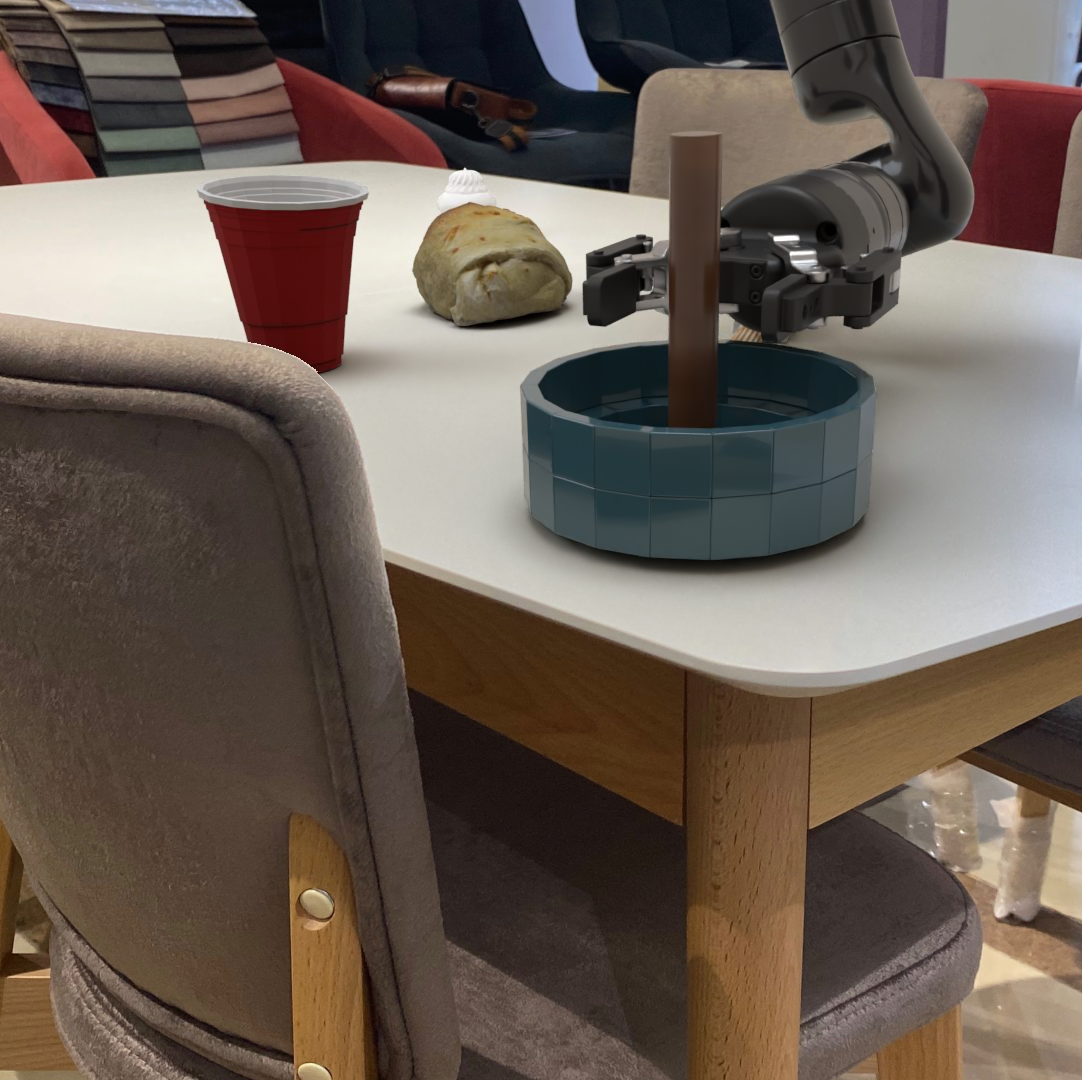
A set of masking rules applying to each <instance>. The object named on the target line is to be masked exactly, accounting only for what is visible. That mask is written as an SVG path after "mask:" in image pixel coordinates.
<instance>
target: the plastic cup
mask: <svg viewBox="0 0 1082 1080" xmlns="http://www.w3.org/2000/svg"><path fill="white" fill-rule="evenodd" d="M196 192H197V194H198V198H200V199H201V200H203V205H205V209H206V210H207V213H208V216H209V220H210V222H211V223H212V227H213V231H214V236H215V240H217V242H218V246H219V250H220V252H221V257H222V260H223V263H224V267H225V271H226V275H227V278H228V282H229V285H230V288H231V292H232V296H233V299H234V304H235V308H236V311H237V314H238V317H239V321H240V322H241V323H242V327H243V330H244V334H245V337H246V341H247V343H248V342H251V343H257V344H261V345H266V346H269V347H273V348H276V349H279V350H282V351H284V352H286V353H289V354H291V355H294V356H296V357H298V358H300V359H301V360H303V361H304V362H306V363H307V364H309V365H310V366H311V367H313V368H314V369H316V371H318V372H319V373H324V372H326V371H327V372H328V371H330V370H333V369H336V368H337V367H339V366H341V364H342V359H343V358H342V357H343V355H344V352H345V351H344V350H345V336H346V334H345V333H346V318H347V315H348V312H349V302H350V301H349V299H350V290H351V289H350V288H351V277H352V276H351V275H352V264H353V255H354V254H353V253H354V243H355V242H354V241H355V237H356V234H357V225H358V221H360V215H361V214H360V213H361V210H362V209H363V208H362V207H363V205H364V201H367V200H368V198H369V193H370V191H369V187H368V186H366V185H363V184H362V183H358V182H355V181H350V180H345V179H344V180H343V179H341V178H340V179H339V178H333V177H324V176H323V177H322V176H313V175H311V176H310V175H289V174H288V175H287V174H263V175H261V174H259V175H241V176H239V175H238V176H233V177H225V178H217V179H213V180H209V181H206V182H203V183H200V184H199V185H198V187H197V189H196Z"/></svg>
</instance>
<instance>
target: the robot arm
mask: <svg viewBox="0 0 1082 1080" xmlns="http://www.w3.org/2000/svg"><path fill="white" fill-rule="evenodd" d="M769 4H770V7H771V10H772V14H773V17H774V21H775V25H776V29H777V33H778V37H779V41H780V45H781V47H782V51H783V55H784V59H785V63H786V66H787V70H788V74H789V77H790V80H791V85H792V89H793V92H794V95H795V99H796V103H797V105H798V108H799V110H800V113H801V114H802V116H803V117H804V119H805V120H806V121H808V122H809V123H811V124H814V125H816V126H834V125H842V124H843V125H844V124H847V123H853V122H859V121H864V120H874V119H875V120H876V119H877V120H879V121H880V122H881V123H882V124H883V126H884V127H885V128H886V130H887V132H888V135H889V138H890V139H889V140H888V141H886V142H884V143H881V144H878V145H876V146H874V147H872V148H869V149H866V150H864V151H861V152H859V153H856V154H854V155H851V156H849V157H847V158H844V159H842V160H839V161H837V162H835V163H831V164H827V165H824V166H821V167H818V168H809V169H803V170H798V171H794V172H792V173H788V174H785V175H783V176H781V177H778V178H775V179H772V180H770V181H769V180H768V181H767V182H764V183H761V184H759V185H756V186H753V187H750V188H748V189H746V190H744V191H742V192H740V193H739V194H737V195H736V196H734V197H733V198H732V199H731V200H729V201H728V202H727V203H725V205H724V206H723V207H722V208H721V237H720V287H719V315H725V314H726V315H728V317H730V318H731V319H732V320H734V322H735V321H736V322H738V323H739V324H741V325H743V326H744V327H746V328H748V329H751V330H753V331H756V332H759V333H761V338H762V340H763V341H762V342H764V341H770V342H769V343H782V342H781V341H783V340H784V339H785V338H787V337H788V336H789V337H790V336H791V335H793V334H795V333H799V332H803V331H804V330H807V329H808V330H818V329H819V328H824V327H827V326H828V318H829V317H843V319H842V320H843V321H842V326H843V327H846V328H850V329H851V330H863V328H869V327H871V326H873V325H874V324H875V323H876V322H878V321H879V320H880V319H881V318H882V317H884V316H885V315H886V314H887V313H889V312H890V311H891V310H892V309H893V308H895V307H896V306H897V305H898V304H899V295H900V283H901V272H902V271H901V270H902V258H904V257H907V256H910V255H912V254H916V253H918V252H921V251H924V250H927V249H930V248H932V247H935V246H939V245H941V244H944V243H947V242H948V241H951V240H953V239H954V238H956V237H958V236H959V235H961V233H962V232H963V231H964V230H965V228H966V227H967V226H968V224H969V221H970V219H971V217H972V214H973V211H974V210H973V209H974V206H975V186H974V182H973V179H972V175H971V173H970V170H969V168H968V166H967V164H966V162H965V161H964V159H963V156H962V155H961V153H960V152H959V150H958V149H957V147H956V146H955V144H954V143H953V141H952V139H951V138H950V137H949V135H948V133H947V132H946V131H945V129H944V127H943V126H942V125H941V123H940V121H939V119H938V118H937V116H936V115H935V113H934V111H933V109H932V108H931V106H930V105H929V103H928V101H927V99H926V97H925V95H924V93H923V92H922V89H921V87H920V85H919V83H918V82H917V79H916V77H915V75H914V72H913V71H912V68H911V65H910V62H909V60H908V57H907V54H906V50H905V48H904V43H903V41H902V36H901V32H900V29H899V24H898V21H897V17H896V14H895V9H894V7H893V3H892V0H769ZM585 271H586V272H585V280H584V281H583V282H582V284H581V287H582V289H581V290H582V316H586V321H587V324H588V325H589V326H592V327H601V328H602V327H603V328H606V327H608V326H610V325H612V324H614V323H616V322H618V321H621V320H622V319H625V318H627V317H629V316H631V315H633V314H635V313H637V312H643V311H650V310H654V311H655V312H657V313H660V314H663V315H666V316H669V239H663V240H659V241H657V242H655V244H654V237H653V236H649V235H648V236H647V234H643V233H641V234H639V233H638V234H636V235H635V236H631V237H628V238H625V239H623V240H619V241H617V242H614V243H612V244H609V245H606V246H603V247H601V248H598V249H594V250H592V251H589V252H587V253H585ZM641 292H649V293H646V294H641ZM789 337H788V338H789Z"/></svg>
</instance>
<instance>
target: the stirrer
mask: <svg viewBox="0 0 1082 1080" xmlns="http://www.w3.org/2000/svg"><path fill="white" fill-rule="evenodd" d="M723 134H724V133H723V132H721V131H715V130H712V131H711V130H690V131H677V132H672V133H670V134H669V137H668V138H669V139H668V141H669V142H668V144H669V146H668V149H669V151H668V152H669V153H668V154H669V157H668V159H669V162H668V163H669V164H668V169H669V170H668V184H669V185H668V240H669V315H668V335H667V336H668V339H667V340H668V428H706V429H712V428H717V389H718V340H719V335H720V334H719V330H720V329H719V328H720V314H719V287H720V237H721V210H722V187H723V185H722V182H723V181H722V179H723V177H722V176H723V172H722V171H723Z"/></svg>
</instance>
